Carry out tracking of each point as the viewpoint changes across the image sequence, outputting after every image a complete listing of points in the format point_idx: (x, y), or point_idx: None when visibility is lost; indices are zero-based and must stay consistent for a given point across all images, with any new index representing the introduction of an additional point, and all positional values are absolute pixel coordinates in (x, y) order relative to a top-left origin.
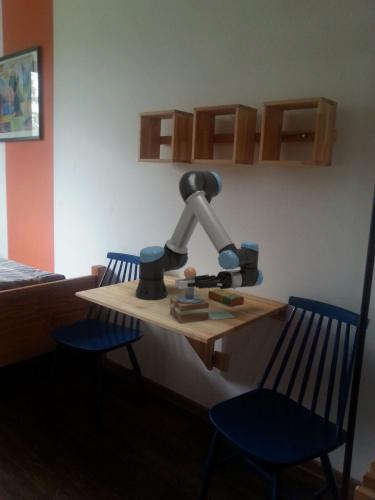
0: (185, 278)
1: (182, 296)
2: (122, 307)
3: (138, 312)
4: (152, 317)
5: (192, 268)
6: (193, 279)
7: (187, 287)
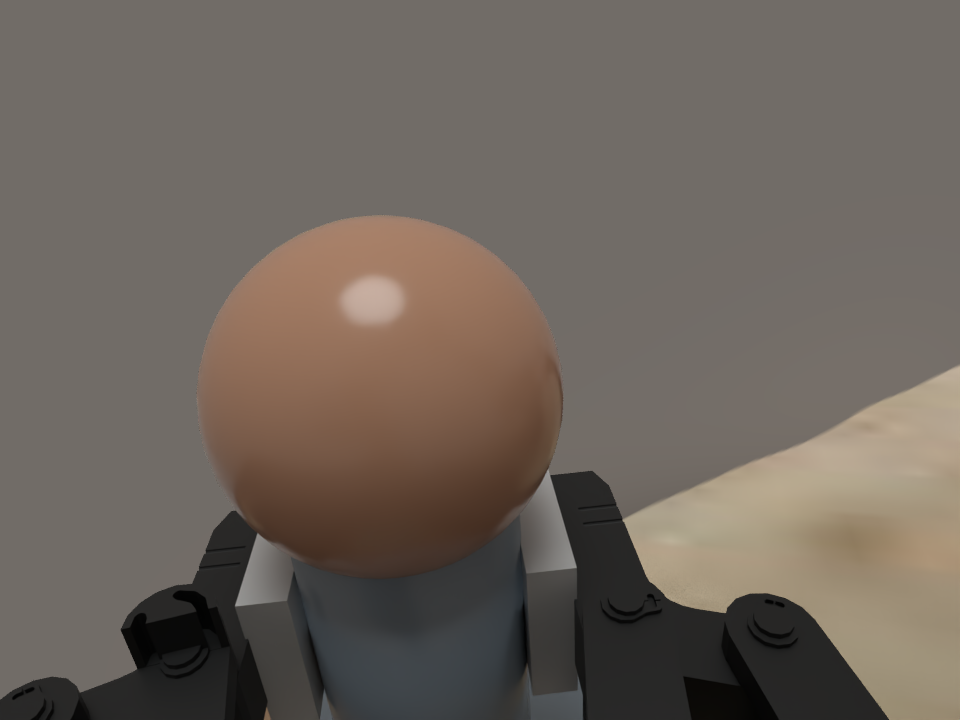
0: (542, 485)
1: (558, 717)
2: (818, 445)
3: (695, 514)
4: None
5: (265, 266)
6: (294, 570)
7: None
